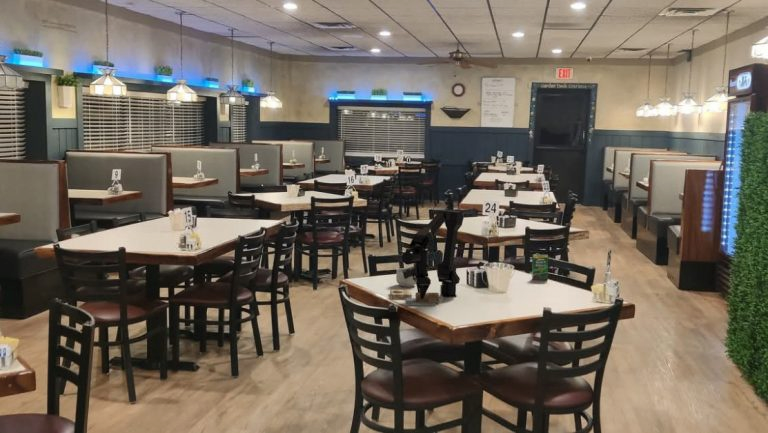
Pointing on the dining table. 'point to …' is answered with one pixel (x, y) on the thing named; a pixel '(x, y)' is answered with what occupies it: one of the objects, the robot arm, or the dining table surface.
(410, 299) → the grey mat
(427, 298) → the walnut block
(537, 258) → the coffee box
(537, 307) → the dining table surface
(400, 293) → the oak holder
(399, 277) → the teacup
